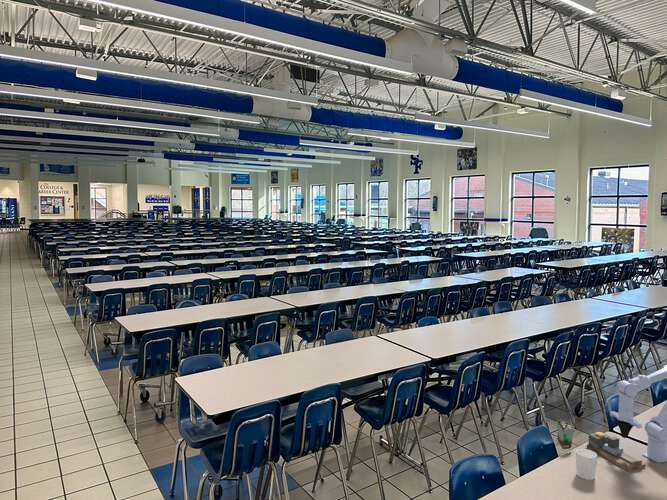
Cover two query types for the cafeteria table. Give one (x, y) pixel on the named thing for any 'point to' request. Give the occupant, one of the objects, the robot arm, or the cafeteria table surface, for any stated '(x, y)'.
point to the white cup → (586, 463)
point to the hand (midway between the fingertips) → (624, 437)
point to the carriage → (613, 446)
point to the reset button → (599, 434)
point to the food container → (565, 434)
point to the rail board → (620, 460)
